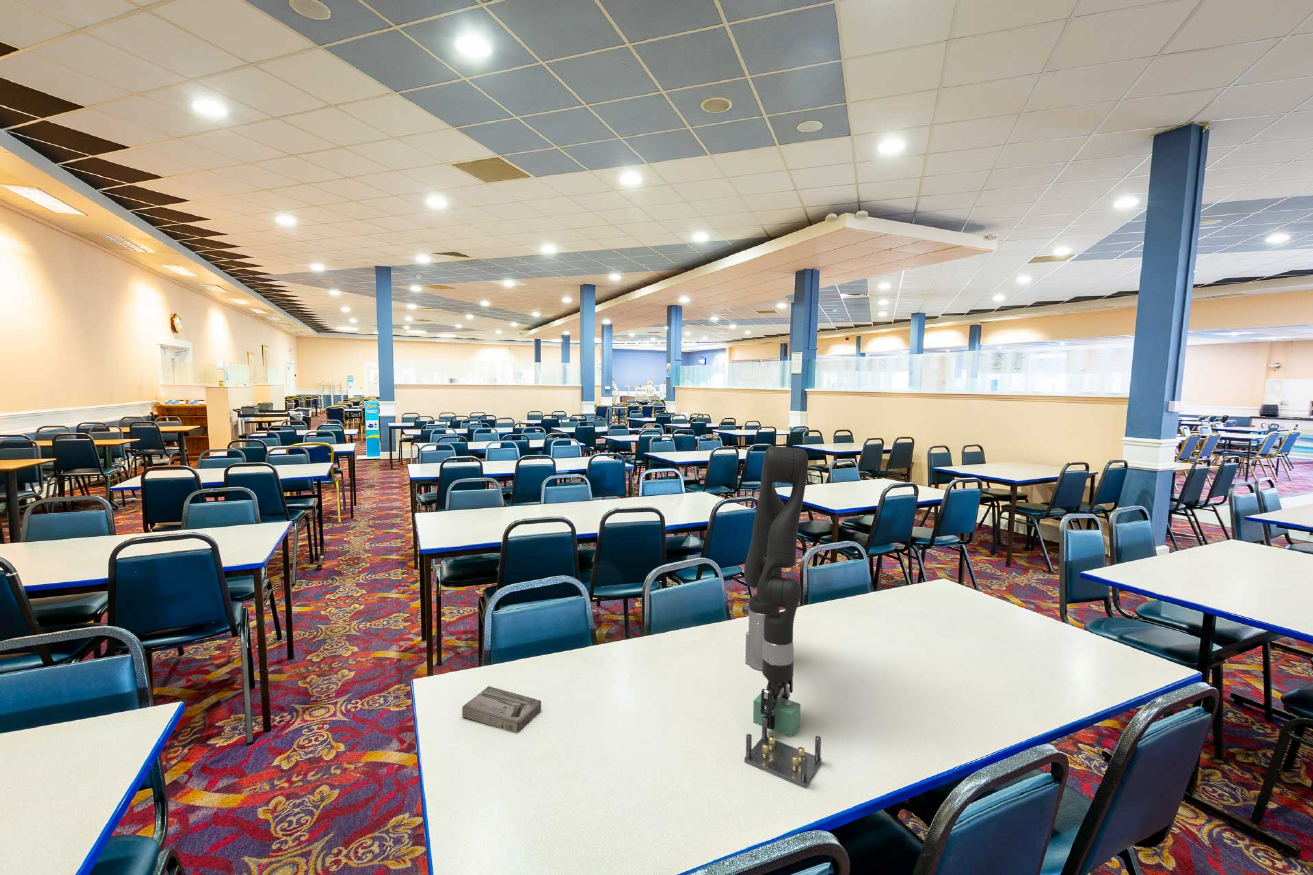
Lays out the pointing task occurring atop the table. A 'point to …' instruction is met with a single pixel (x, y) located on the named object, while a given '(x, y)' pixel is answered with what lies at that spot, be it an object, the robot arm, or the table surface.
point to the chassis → (783, 758)
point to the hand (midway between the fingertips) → (776, 719)
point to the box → (502, 709)
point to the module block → (780, 716)
